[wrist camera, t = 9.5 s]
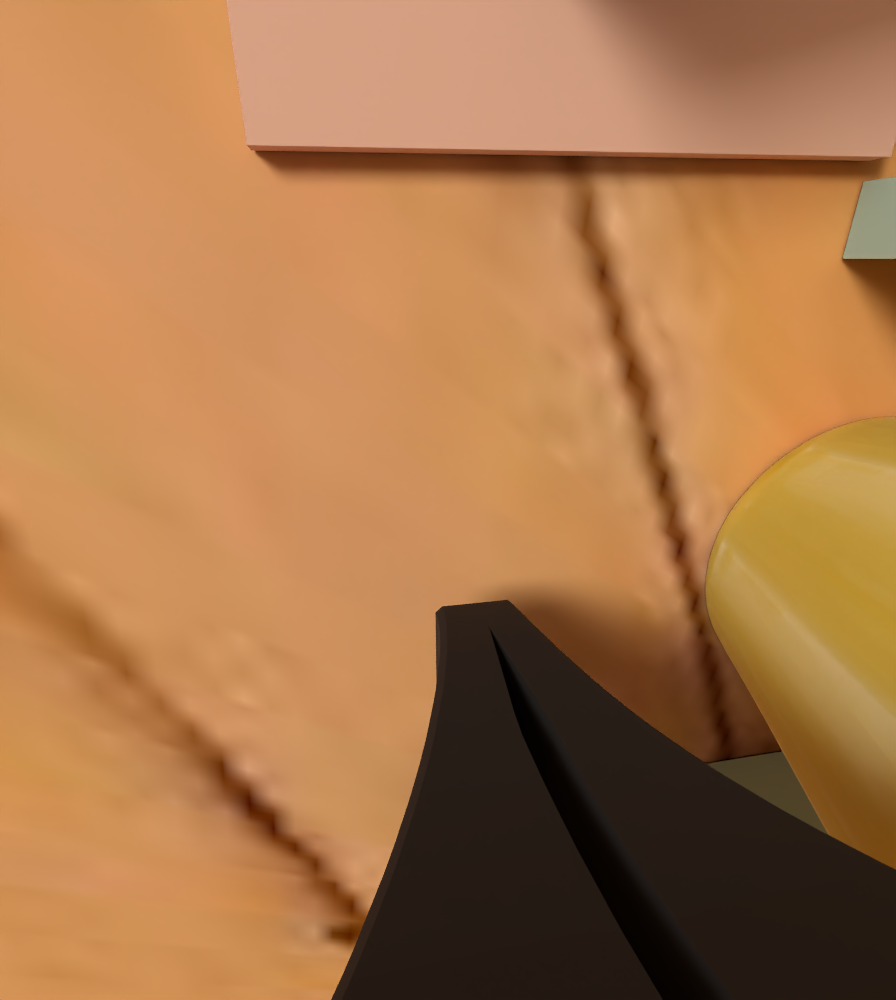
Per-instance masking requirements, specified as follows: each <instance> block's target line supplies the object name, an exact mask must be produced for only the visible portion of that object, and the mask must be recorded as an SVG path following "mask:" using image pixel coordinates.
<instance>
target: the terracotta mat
mask: <svg viewBox="0 0 896 1000" xmlns="http://www.w3.org/2000/svg"><path fill="white" fill-rule="evenodd" d="M226 2H227V9H228V16H229V23H230V30H231V37H232V44H233V51H234V58H235V65H236V72H237V79H238V86H239V93H240V100H241V108H242V115H243V122H244V129H245V136H246V143H247V146H248V147H249V148H250V149H251V150H255V151H314V152H374V153H433V154H492V155H552V156H611V157H670V158H730V159H789V160H849V161H871V160H876V159H882V158H887V157H891V155H892V151H893V148H894V144H895V141H896V0H226Z"/></svg>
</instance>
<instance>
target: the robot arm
mask: <svg viewBox="0 0 896 1000" xmlns="http://www.w3.org/2000/svg"><path fill="white" fill-rule="evenodd" d="M436 670H437V684H436V692H435V698H434V703H433V708H432V713H431V718H430V723H429V728H428V733H427V737H426V742H425V746H424V750H423V754H422V758H421V761H420V765H419V769H418V772H417V776H416V779H415V783H414V786H413V790H412V793H411V796H410V800H409V803H408V806H407V809H406V812H405V815H404V818H403V821H402V824H401V827H400V830H399V833H398V836H397V839H396V842H395V845H394V848H393V850H392V853H391V856H390V859H389V862H388V864H387V867H386V870H385V872H384V875H383V878H382V880H381V883H380V885H379V888H378V890H377V893H376V895H375V898H374V900H373V903H372V905H371V908H370V910H369V913H368V915H367V917H366V920H365V922H364V925H363V927H362V930H361V932H360V935H359V937H358V940H357V942H356V945H355V947H354V950H353V952H352V954H351V957H350V959H349V961H348V964H347V966H346V968H345V971H344V973H343V975H342V978H341V980H340V982H339V984H338V986H337V988H336V991H335V993H334V995H333V997H332V999H331V1000H896V869H894V868H892V867H890V866H888V865H886V864H884V863H882V862H880V861H878V860H876V859H874V858H872V857H870V856H868V855H866V854H864V853H862V852H860V851H858V850H856V849H855V848H853V847H851V846H849V845H847V844H845V843H843V842H841V841H839V840H837V839H835V838H833V837H831V836H829V835H828V834H826V833H824V832H822V831H820V830H818V829H816V828H814V827H813V826H811V825H809V824H807V823H805V822H804V821H802V820H800V819H798V818H796V817H794V816H793V815H791V814H789V813H787V812H785V811H784V810H782V809H780V808H778V807H777V806H775V805H773V804H771V803H770V802H768V801H766V800H765V799H763V798H761V797H760V796H758V795H756V794H755V793H753V792H751V791H750V790H748V789H746V788H745V787H743V786H741V785H740V784H738V783H736V782H735V781H733V780H731V779H730V778H728V777H726V776H725V775H723V774H722V773H720V772H718V771H717V770H715V769H714V768H712V767H711V766H709V765H707V764H706V763H704V762H703V761H701V760H700V759H698V758H697V757H695V756H694V755H692V754H691V753H689V752H688V751H686V750H685V749H684V748H682V747H681V746H679V745H678V744H676V743H675V742H673V741H672V740H671V739H669V738H668V737H666V736H665V735H663V734H662V733H660V732H659V731H657V730H656V729H655V728H653V727H652V726H651V725H649V724H648V723H647V722H645V721H644V720H642V719H641V718H640V717H638V716H637V715H636V714H635V713H633V712H632V711H631V710H629V709H628V708H627V707H626V706H624V705H623V704H622V703H621V702H619V701H618V700H617V699H616V698H614V697H613V696H612V695H611V694H609V693H608V692H607V691H606V690H605V689H603V688H602V687H601V686H600V685H599V684H597V683H596V682H595V681H594V680H593V679H592V678H590V677H589V676H588V675H587V674H586V673H585V672H584V671H583V670H582V669H580V668H579V667H578V666H577V665H576V664H575V663H574V662H573V661H571V660H570V659H569V658H568V657H567V656H566V655H565V654H564V653H563V652H561V651H560V650H559V649H558V648H557V647H556V646H555V645H554V644H553V643H552V642H551V641H550V640H549V639H548V638H547V637H546V636H545V635H544V634H543V633H541V632H540V631H539V630H538V629H537V628H536V627H535V626H534V625H533V624H532V623H531V622H530V621H529V620H528V619H527V618H526V617H525V616H524V615H523V614H522V613H521V612H520V611H519V610H518V609H517V608H516V607H515V606H514V605H513V604H512V603H511V602H509V601H508V600H503V601H493V602H483V603H473V604H463V605H453V606H443V607H441V608H440V609H439V610H438V611H437V612H436Z"/></svg>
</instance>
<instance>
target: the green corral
mask: <svg viewBox="0 0 896 1000" xmlns="http://www.w3.org/2000/svg"><path fill="white" fill-rule="evenodd" d="M843 259H896V177H891V178H884V179H877V180H870V181H864V182H863V186H862V189H861V193H860V196H859V200H858V204H857V207H856V211H855V215H854V218H853V222H852V226H851V229H850V233H849V237H848V240H847V244H846V248H845V251H844V255H843ZM707 765H709V766H711V767H712V768H714V769H715V770H717V771H718V772H720V773H722V774H723V775H725V776H726V777H728V778H730V779H731V780H733V781H735V782H736V783H738V784H740V785H741V786H743V787H745V788H746V789H748V790H750V791H751V792H753V793H755V794H756V795H758V796H760V797H761V798H763V799H765V800H766V801H768V802H770V803H771V804H773V805H775V806H777V807H778V808H780V809H782V810H784V811H785V812H787V813H789V814H791V815H793V816H794V817H796V818H798V819H800V820H802V821H804V822H805V823H807V824H809V825H811V826H813V827H814V828H816V829H818V830H820V831H822V832H824V833H826V834H828V833H827V831H826V829H825V828H824V826H823V824H822V822H821V820H820V819H819V817H818V815H817V813H816V811H815V810H814V808H813V806H812V804H811V802H810V801H809V799H808V797H807V795H806V793H805V791H804V790H803V788H802V786H801V784H800V782H799V781H798V779H797V777H796V775H795V773H794V772H793V770H792V768H791V766H790V764H789V762H788V761H787V759H786V757H785V755H784V753H783V752H775V753H769V754H763V755H757V756H751V757H745V758H739V759H732V760H726V761H720V762H714V763H708V764H707Z"/></svg>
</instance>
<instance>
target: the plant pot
mask: <svg viewBox="0 0 896 1000" xmlns="http://www.w3.org/2000/svg"><path fill="white" fill-rule="evenodd" d="M705 597H706V604H707V609H708V613H709V617H710V621H711V624H712V626H713V629H714V631H715V633H716V635H717V636H718V638H719V640H720V642H721V644H722V646H723V647H724V649H725V651H726V653H727V655H728V656H729V658H730V660H731V661H732V663H733V665H734V666H735V668H736V670H737V672H738V673H739V675H740V677H741V678H742V680H743V682H744V683H745V685H746V687H747V689H748V690H749V692H750V694H751V696H752V698H753V699H754V701H755V703H756V705H757V707H758V708H759V710H760V712H761V714H762V715H763V717H764V719H765V721H766V723H767V724H768V726H769V728H770V730H771V732H772V733H773V735H774V737H775V739H776V741H777V743H778V744H779V746H780V748H781V750H782V752H783V753H784V755H785V757H786V759H787V761H788V762H789V764H790V766H791V768H792V770H793V772H794V773H795V775H796V777H797V779H798V781H799V782H800V784H801V786H802V788H803V790H804V791H805V793H806V795H807V797H808V799H809V801H810V802H811V804H812V806H813V808H814V810H815V811H816V813H817V815H818V817H819V819H820V820H821V822H822V824H823V826H824V828H825V829H826V831H827V833H828V835H829V836H831V837H833V838H835V839H837V840H839V841H841V842H843V843H845V844H847V845H849V846H851V847H853V848H855V849H856V850H858V851H860V852H862V853H864V854H866V855H868V856H870V857H872V858H874V859H876V860H878V861H880V862H882V863H884V864H886V865H888V866H890V867H892V868H894V869H896V417H876V418H870V419H864V420H859V421H855V422H852V423H848V424H845V425H842V426H839V427H836V428H833V429H831V430H828V431H826V432H824V433H822V434H820V435H818V436H816V437H814V438H812V439H810V440H808V441H806V442H804V443H803V444H801V445H800V446H798V447H797V448H795V449H794V450H792V451H791V452H789V453H788V454H786V455H785V456H784V457H782V458H781V459H780V460H778V461H777V462H776V463H775V464H773V465H772V466H771V467H770V468H769V469H768V470H767V471H765V472H764V473H763V474H762V475H761V476H760V477H759V478H758V479H757V480H756V481H755V482H754V483H753V484H752V485H751V486H750V487H749V488H748V489H747V491H746V492H745V493H744V494H743V495H742V497H741V498H740V499H739V500H738V502H737V503H736V504H735V506H734V507H733V509H732V510H731V511H730V513H729V514H728V516H727V517H726V519H725V521H724V523H723V525H722V527H721V529H720V531H719V533H718V535H717V538H716V540H715V543H714V546H713V549H712V551H711V554H710V558H709V563H708V567H707V572H706V586H705Z"/></svg>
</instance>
